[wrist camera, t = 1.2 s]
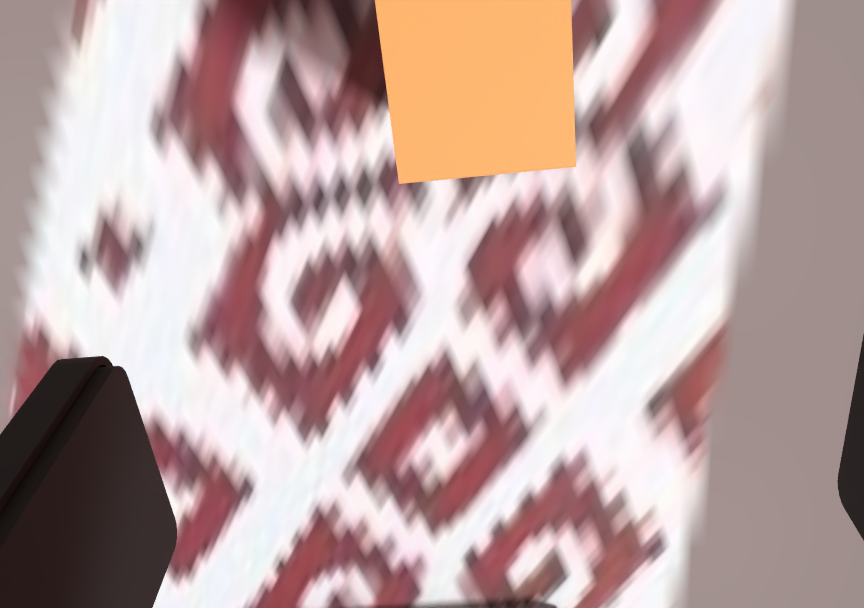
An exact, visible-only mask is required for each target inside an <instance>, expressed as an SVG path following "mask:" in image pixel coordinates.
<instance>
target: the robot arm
mask: <svg viewBox="0 0 864 608" xmlns="http://www.w3.org/2000/svg"><path fill="white" fill-rule="evenodd" d="M838 490H839V496H840V499H841V502H842V504H843V506H844V508H845V510H846V512H847V513H848V515H849V517H850V518H851V520H852V522H853V523H854V525H855V527H856V528H857V530H858V532H859V533H860V535H861V537H862V538H863V540H864V336H863V342H862V347H861V353H860V358H859V363H858V369H857V375H856V380H855V385H854V391H853V396H852V402H851V407H850V413H849V419H848V425H847V430H846V435H845V441H844V446H843V452H842V457H841V463H840V469H839V474H838ZM176 540H177V526H176V520H175V517H174V514H173V511H172V508H171V505H170V502H169V499H168V496H167V493H166V490H165V487H164V484H163V481H162V478H161V475H160V472H159V469H158V466H157V463H156V460H155V457H154V454H153V451H152V448H151V445H150V442H149V439H148V436H147V433H146V430H145V427H144V424H143V421H142V418H141V415H140V412H139V409H138V406H137V403H136V400H135V397H134V394H133V391H132V388H131V385H130V382H129V379H128V376H127V374H126V372H125V370H124V369H123V368H122V367H120V366H113V365H112V363H111V362H110V361H109V359H108V358H106V357H104V356H98V357H85V358H72V359H61V360H57V361H56V362H55V363H54V364H53V365H52V366H51V368H50V369H49V370H48V372H47V373H46V374H45V376H44V377H43V378H42V380H41V381H40V382H39V384H38V385H37V386H36V388H35V389H34V390H33V392H32V393H31V394H30V396H29V397H28V398H27V400H26V401H25V402H24V404H23V405H22V406H21V408H20V409H19V410H18V412H17V413H16V414H15V416H14V417H13V418H12V420H11V421H10V422H9V424H8V425H7V426H6V428H5V429H4V430H3V432H2V433H1V434H0V608H152V607H153V605H154V602H155V599H156V597H157V594H158V592H159V589H160V586H161V584H162V581H163V578H164V576H165V573H166V571H167V568H168V565H169V563H170V560H171V558H172V555H173V552H174V549H175V546H176Z"/></svg>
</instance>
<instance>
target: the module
mask: <svg viewBox="0 0 864 608" xmlns="http://www.w3.org/2000/svg"><path fill="white" fill-rule="evenodd" d="M375 5H376V13H377V20H378V28H379V35H380V43H381V50H382V58H383V66H384V73H385V81H386V88H387V96H388V103H389V111H390V118H391V126H392V134H393V141H394V149H395V156H396V164H397V171H398V179H399V184H402V183H413V182H423V181H433V180H444V179H454V178H464V177H475V176H485V175H495V174H506V173H516V172H526V171H537V170H547V169H558V168H568V167H576V153H575V120H574V86H573V52H572V19H571V0H375Z"/></svg>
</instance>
